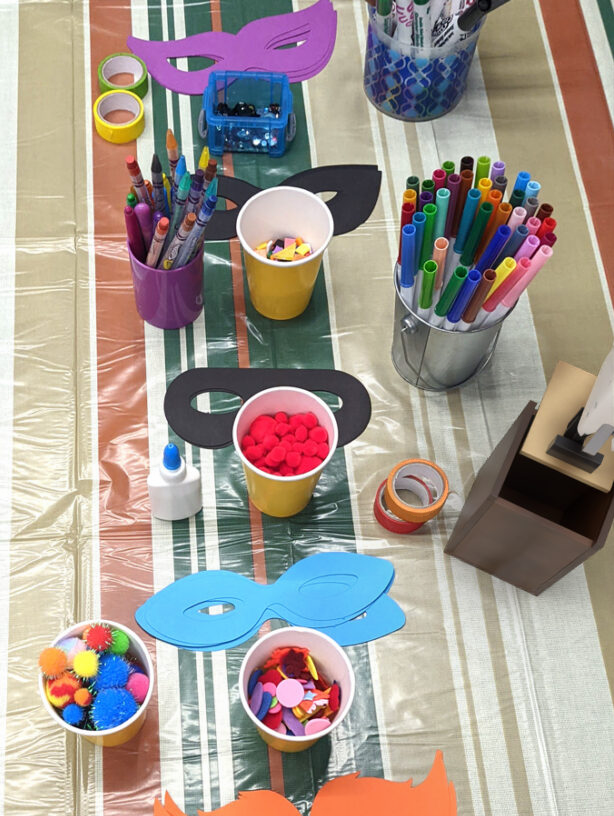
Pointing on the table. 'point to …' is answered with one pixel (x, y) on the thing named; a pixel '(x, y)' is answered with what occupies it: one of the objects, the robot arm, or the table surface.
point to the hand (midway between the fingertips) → (579, 436)
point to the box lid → (551, 422)
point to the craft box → (529, 517)
